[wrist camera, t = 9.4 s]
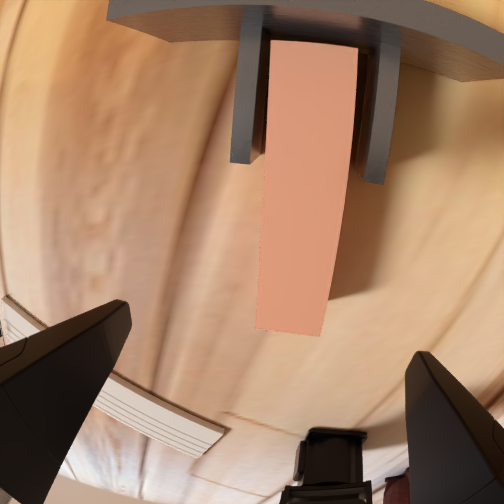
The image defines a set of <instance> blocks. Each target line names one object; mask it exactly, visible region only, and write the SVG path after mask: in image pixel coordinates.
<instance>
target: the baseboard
mask: <svg viewBox="0 0 504 504" xmlns="http://www.w3.org/2000/svg"><path fill="white" fill-rule="evenodd" d="M1 302H2V310H3V314H4V321H5V329H6V332H7V334H6V335H7V338H8V344H11V343H14V342H16V341H19V340H21V339H23V338H25V337H29V336H30V335H33V334H35V333H37V332H40V331H42V330H44V329H46V328H45V327H43V326H42V325H41V324H39V323H38V322H37V321H36V320H34V319H33V318H32V317H30V316H29V315H28V314H27V313H25V312H24V311H23V310H22V309H21V308H19V307H18V306H17V305H16V304H14V303H13V302H12V301H11V300H10V299H9V298H7V297H6V296H4V297H3V298H2V299H1ZM0 325H1V322H0ZM1 330H2V328H1V329H0V337H2V335H3V333H2V334H1ZM3 340H4V338H3ZM4 345H5V343H4ZM93 406H94V407H96V408H97V409H99V410H101V411H102V412H104V413H106V414H108V415H109V416H111V417H113V418H114V419H116V420H118V421H120V422H122V423H123V424H125V425H127V426H129V427H131V428H133V429H135V430H137V431H138V432H140V433H142V434H144V435H146V436H148V437H150V438H152V439H154V440H156V441H159V442H161V443H163V444H165V445H167V446H169V447H171V448H174V449H176V450H178V451H181V452H183V453H185V454H188V455H190V456H192V457H195V458H197V459H198V458H199V457H200V456H201V455H202V454H203V453H204V452H205V451H207V449H208V448H209V447H211V446H212V445H213V444H214V443H215V442H216V441H217V440H218V439H219V438H220V437H221V436H222V435H223V434H224V430H225V429H224V428H221V427H219V426H217V425H214V424H212V423H210V422H207V421H205V420H203V419H200V418H198V417H196V416H194V415H192V414H189V413H187V412H185V411H183V410H181V409H179V408H177V407H175V406H173V405H171V404H169V403H167V402H165V401H163V400H161V399H159V398H157V397H155V396H153V395H151V394H149V393H147V392H145V391H143V390H142V389H140V388H138V387H136V386H134V385H133V384H131V383H129V382H127V381H125V380H124V379H122V378H120V377H119V376H117V375H115V374H113V373H112V372H111V373H110V375H109V377H108V379H107V380H106V382H105V384H104V386H103V387H102V389H101V391H100V393H99V395H98V396H97V398H96V400H95V402H94V404H93Z"/></svg>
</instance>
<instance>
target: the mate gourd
mask: <svg viewBox="0 0 504 504" xmlns="http://www.w3.org/2000/svg"><path fill="white" fill-rule="evenodd" d="M385 482H387V484H386V488H385V491H384V498H383V504H410V471H409V467H408V468H407V469H406V471H405V473H404V475H400V476H394V477H387V478H385Z"/></svg>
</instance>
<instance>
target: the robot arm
mask: <svg viewBox="0 0 504 504" xmlns="http://www.w3.org/2000/svg"><path fill="white" fill-rule="evenodd" d="M131 327H132V319H131V313H130V307H129V304H128V302H126V301H122V300H118V299H116V300H113V301H111V302H108V303H106V304H104V305H101V306H99V307H97V308H94V309H92V310H89V311H87V312H85V313H82V314H80V315H77V316H75V317H73V318H70V319H68V320H66V321H63V322H61V323H59V324H56V325H54V326H51V327H49V328H47V329H44V330H42V331H40V332H37V333H35V334H33V335H30V336H29V337H25V338H23V339H21V340H19V341H16V342H14V343H11V344H9V345H6V346H3V347H0V504H9V503H10V501H11V499H12V498H14V499H15V500H17V501H18V502H19V503H21V504H43V503H44V501H45V499H46V497H47V494H48V492H49V490H50V488H51V486H52V484H53V482H54V479H55V477H56V475H57V474H58V471H59V469H60V467H61V465H62V463H63V461H64V459H65V457H66V455H67V453H68V451H69V449H70V447H71V445H72V443H73V441H74V439H75V437H76V435H77V434H78V432H79V430H80V428H81V426H82V424H83V422H84V420H85V418H86V417H87V415H88V413H89V411H90V409H91V407H92V406H93V404H94V402H95V400H96V398H97V396H98V395H99V393H100V391H101V389H102V387H103V386H104V384H105V382H106V380H107V379H108V377H109V375H110V373H111V372H112V370H113V368H114V366H115V364H116V362H117V360H118V357H119V355H120V353H121V350H122V348H123V346H124V344H125V341H126V339H127V337H128V335H129V332H130V330H131ZM405 415H406V429H407V440H408V453H409V471H410V504H504V428H503V427H502V426H501V425H500V424H499V423H498V422H497V421H496V420H494V418H493V416H492V415H491V414H490V413H489V412H488V411H487V410H486V409H485V408H484V407H483V406H482V405H481V404H480V403H479V402H478V401H477V400H476V398H475V397H474V396H473V395H472V394H471V393H470V392H469V391H468V390H467V389H466V388H465V387H464V386H463V385H462V384H461V383H460V382H459V381H458V380H457V379H456V378H455V377H454V376H453V375H452V374H451V373H450V372H449V371H448V370H447V369H446V368H445V367H444V366H443V365H442V364H441V363H440V362H439V361H438V360H437V359H436V358H435V357H434V356H433V355H432V354H431V353H430V352H428V351H417V352H416V353H415V354H414V356H413V358H412V360H411V362H410V363H409V365H408V367H407V369H406V372H405ZM366 439H367V433H364V432H345V431H331V430H320V429H310V430H309V431H308V433H307V435H306V437H305V440H304V441H301V442H300V444H299V446H298V449H297V451H296V459H295V467H294V475H293V480H294V481H298V485H297V486H291V485H286V486H285V489H284V491H282V494H281V500H280V503H279V504H372V486H371V480H369V481H366V482H363V457H362V444H363V443H364V442H365V440H366Z"/></svg>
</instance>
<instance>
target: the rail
mask: <svg viewBox="0 0 504 504" xmlns="http://www.w3.org/2000/svg"><path fill="white" fill-rule="evenodd" d="M357 62H358V48H353V47H346V46H338V45H330V44H321V43H310V42H298V41H279V40H271V49H270V71H269V92H268V112H267V131H266V151H265V169H264V188H263V206H262V224H261V241H260V258H259V275H258V291H257V308H256V324H255V329H262V330H270V331H277V332H285V333H293V334H302V335H311V336H320V334H321V330H322V325H323V321H324V316H325V311H326V307H327V302H328V297H329V292H330V287H331V281H332V276H333V271H334V265H335V260H336V254H337V248H338V242H339V236H340V229H341V223H342V216H343V210H344V203H345V195H346V188H347V180H348V172H349V163H350V154H351V145H352V134H353V123H354V111H355V98H356V82H357Z"/></svg>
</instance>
